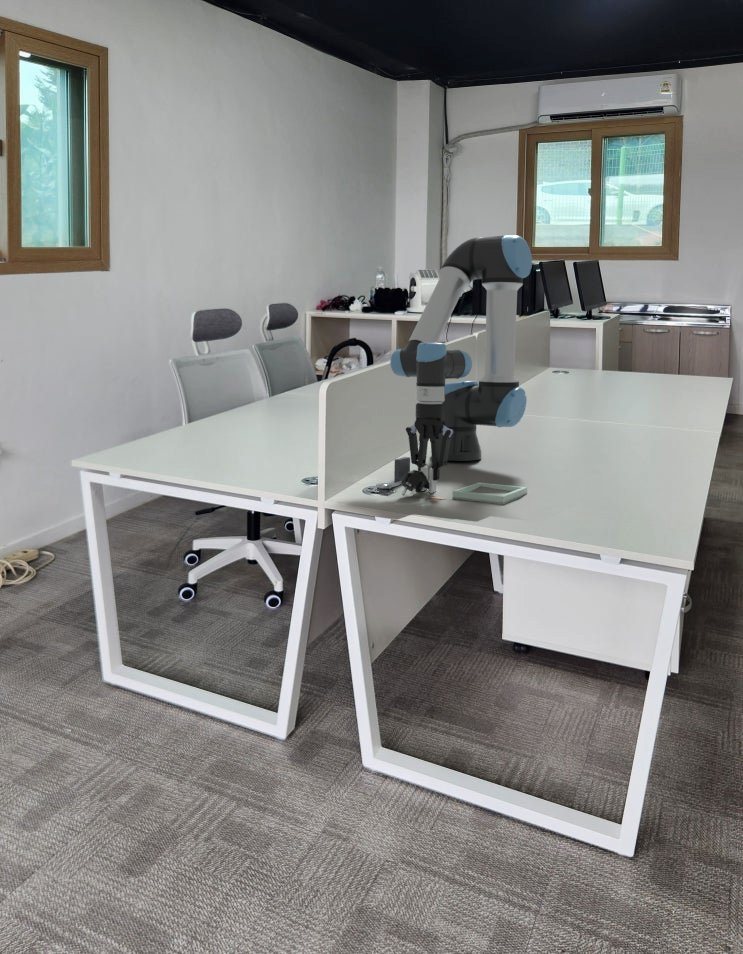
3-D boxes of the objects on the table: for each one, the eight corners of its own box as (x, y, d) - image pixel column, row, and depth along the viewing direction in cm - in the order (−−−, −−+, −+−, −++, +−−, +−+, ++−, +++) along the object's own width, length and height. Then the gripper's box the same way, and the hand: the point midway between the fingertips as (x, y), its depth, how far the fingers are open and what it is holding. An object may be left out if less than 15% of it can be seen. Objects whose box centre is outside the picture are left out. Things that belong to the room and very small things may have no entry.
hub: (378, 489, 233) (379, 486, 233) (401, 492, 230) (401, 488, 229) (365, 493, 227) (365, 489, 227) (388, 495, 224) (388, 492, 224)
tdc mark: (431, 497, 222) (431, 496, 222) (445, 499, 220) (445, 498, 220) (429, 498, 221) (429, 497, 221) (443, 500, 219) (443, 499, 219)
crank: (386, 489, 225) (386, 464, 224) (373, 488, 228) (373, 462, 226) (413, 482, 238) (414, 457, 237) (401, 480, 240) (401, 456, 239)
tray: (478, 489, 234) (478, 482, 234) (527, 494, 227) (527, 487, 227) (452, 498, 221) (452, 490, 221) (503, 504, 214) (503, 496, 213)
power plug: (441, 490, 227) (423, 467, 219) (430, 515, 225) (411, 492, 216) (423, 487, 231) (405, 463, 222) (412, 511, 228) (393, 488, 219)
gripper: (398, 402, 225) (396, 491, 228) (449, 404, 217) (447, 496, 221) (411, 400, 231) (410, 487, 235) (462, 403, 223) (460, 492, 227)
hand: (428, 491), depth 228 cm, fingers closed on power plug, 2 cm apart
